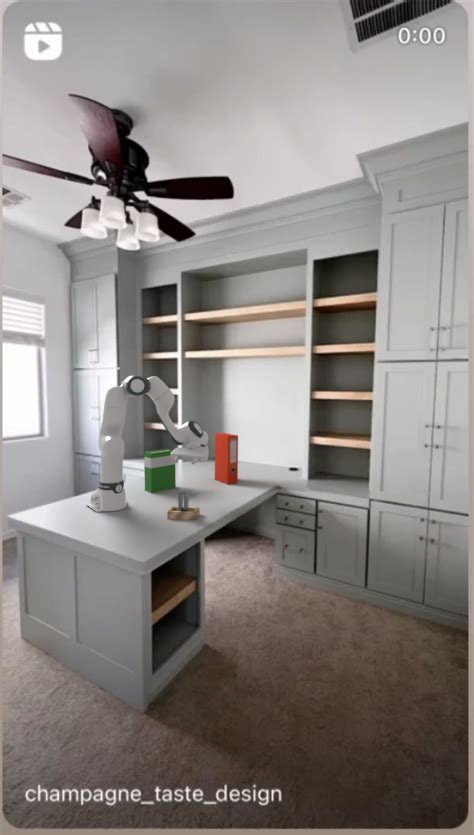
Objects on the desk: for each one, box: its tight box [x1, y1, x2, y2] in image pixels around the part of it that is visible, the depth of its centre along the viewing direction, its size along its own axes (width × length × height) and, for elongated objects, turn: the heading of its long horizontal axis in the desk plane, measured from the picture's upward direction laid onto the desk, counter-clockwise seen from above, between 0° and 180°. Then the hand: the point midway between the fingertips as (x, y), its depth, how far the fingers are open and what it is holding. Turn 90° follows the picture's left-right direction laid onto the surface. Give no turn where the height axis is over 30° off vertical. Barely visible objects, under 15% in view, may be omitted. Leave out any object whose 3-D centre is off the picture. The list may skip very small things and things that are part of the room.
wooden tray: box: [166, 506, 200, 520], centre depth 181 cm, size 14×8×4 cm, turn 84°
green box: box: [143, 448, 176, 494], centre depth 230 cm, size 18×7×24 cm, turn 135°
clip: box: [177, 488, 190, 511], centre depth 181 cm, size 4×4×12 cm
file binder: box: [214, 432, 239, 486], centre depth 250 cm, size 8×17×32 cm, turn 32°
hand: (184, 462), depth 193 cm, fingers open, 8 cm apart
